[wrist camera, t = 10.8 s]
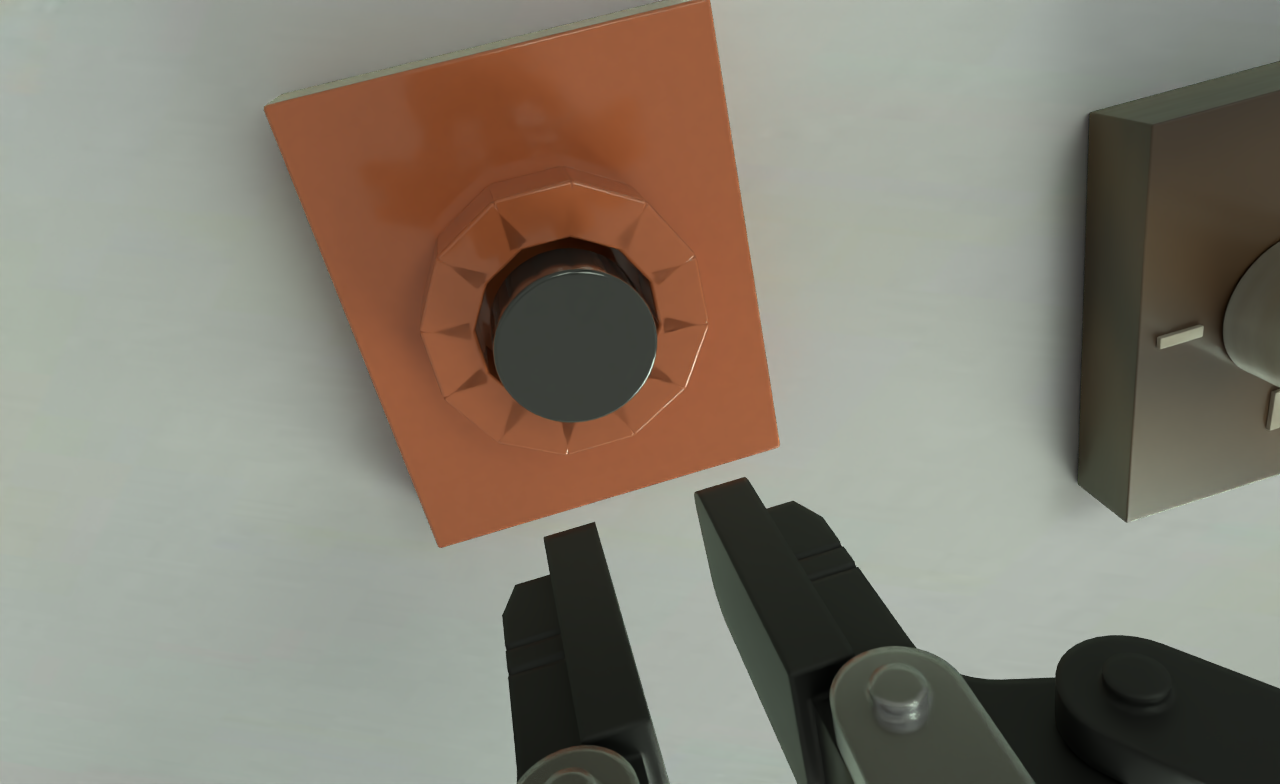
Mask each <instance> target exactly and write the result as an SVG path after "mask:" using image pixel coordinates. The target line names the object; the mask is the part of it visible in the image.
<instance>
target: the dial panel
mask: <svg viewBox="0 0 1280 784" xmlns="http://www.w3.org/2000/svg"><path fill="white" fill-rule="evenodd" d="M1279 241H1280V61H1279V62H1275V63H1271V64H1267V65H1264V66H1260V67H1256V68H1253V69H1249V70H1245V71H1241V72H1238V73H1234V74H1230V75H1227V76H1223V77H1219V78H1216V79H1212V80H1208V81H1204V82H1201V83H1197V84H1193V85H1190V86H1186V87H1182V88H1179V89H1175V90H1171V91H1167V92H1164V93H1160V94H1156V95H1153V96H1149V97H1145V98H1142V99H1138V100H1134V101H1130V102H1127V103H1123V104H1119V105H1116V106H1112V107H1108V108H1104V109H1101V110H1097V111H1093V112H1091V113H1090V115H1089V147H1088V178H1087V209H1086V241H1085V272H1084V303H1083V334H1082V366H1081V397H1080V428H1079V459H1078V485H1079V486H1081V487H1082V488H1083V489H1084V490H1086V491H1087V492H1088V493H1089V494H1091V495H1092V496H1093V497H1094V498H1096V499H1097V500H1098V501H1100V502H1101V503H1102V504H1103V505H1105V506H1106V507H1107V508H1108V509H1110V510H1111V511H1112V512H1114V513H1115V514H1116V515H1117V516H1119V517H1120V518H1121V519H1122V520H1124V521H1125V522H1131V521H1134V520H1137V519H1140V518H1143V517H1147V516H1150V515H1153V514H1156V513H1159V512H1162V511H1165V510H1169V509H1172V508H1175V507H1178V506H1181V505H1184V504H1187V503H1191V502H1194V501H1197V500H1200V499H1203V498H1206V497H1210V496H1213V495H1216V494H1219V493H1222V492H1225V491H1228V490H1232V489H1235V488H1238V487H1241V486H1244V485H1247V484H1250V483H1254V482H1257V481H1260V480H1263V479H1266V478H1269V477H1272V476H1276V475H1279V474H1280V388H1279V387H1277V386H1275V385H1273V384H1271V383H1269V382H1267V381H1265V380H1263V379H1261V378H1259V377H1257V376H1255V375H1253V374H1250V373H1248V372H1246V371H1244V370H1243V369H1241V368H1240V367H1238V366H1237V365H1236V364H1235V363H1234V362H1233V361H1232V359H1231V358H1230V356H1229V355H1228V353H1227V351H1226V348H1225V345H1224V340H1223V322H1224V317H1225V312H1226V309H1227V306H1228V303H1229V301H1230V298H1231V296H1232V294H1233V292H1234V290H1235V288H1236V286H1237V284H1238V283H1239V281H1240V280H1241V278H1242V277H1243V275H1244V274H1245V273H1246V271H1247V270H1248V269H1249V268H1250V266H1251V265H1252V264H1253V263H1254V262H1255V261H1256V260H1257V259H1258V258H1259V257H1260V256H1261V255H1262V254H1263V253H1264V252H1266V251H1267V250H1268V249H1269V248H1271V247H1272V246H1273V245H1275V244H1276V243H1278V242H1279Z"/></svg>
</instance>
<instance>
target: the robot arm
mask: <svg viewBox="0 0 1280 784" xmlns="http://www.w3.org/2000/svg"><path fill="white" fill-rule="evenodd" d="M694 497H695V504H696V509H697V513H698V518H699V522H700V527H701V532H702V536H703V541H704V545H705V550H706V554H707V559H708V563H709V568H710V573H711V577H712V581H713V585H714V589H715V592H716V596H717V599H718V602H719V605H720V608H721V611H722V614H723V616H724V619H725V621H726V624H727V626H728V628H729V631H730V633H731V635H732V637H733V640H734V642H735V644H736V646H737V649H738V651H739V653H740V655H741V658H742V660H743V662H744V664H745V667H746V669H747V671H748V673H749V676H750V678H751V680H752V682H753V685H754V687H755V689H756V691H757V694H758V696H759V698H760V700H761V703H762V705H763V707H764V709H765V712H766V714H767V716H768V718H769V721H770V723H771V725H772V727H773V730H774V732H775V734H776V736H777V739H778V741H779V743H780V745H781V748H782V750H783V752H784V754H785V757H786V759H787V761H788V763H789V766H790V768H791V770H792V772H793V775H794V777H795V779H796V781H797V784H1280V689H1279V688H1277V687H1274V686H1272V685H1269V684H1266V683H1264V682H1261V681H1258V680H1256V679H1253V678H1251V677H1248V676H1245V675H1243V674H1240V673H1237V672H1235V671H1232V670H1230V669H1227V668H1224V667H1222V666H1219V665H1217V664H1214V663H1211V662H1209V661H1206V660H1203V659H1201V658H1198V657H1196V656H1193V655H1190V654H1188V653H1185V652H1182V651H1180V650H1177V649H1175V648H1172V647H1169V646H1167V645H1164V644H1161V643H1158V642H1155V641H1152V640H1148V639H1144V638H1139V637H1133V636H1123V635H1110V636H1102V637H1096V638H1092V639H1088V640H1085V641H1083V642H1081V643H1079V644H1076V645H1075V646H1073V647H1072V648H1071V649H1069V650H1068V651H1067V652H1066V653H1065V654H1064V655H1063V656H1062V658H1061V660H1060V661H1059V663H1058V665H1057V670H1056V678H1031V679H1006V680H993V679H981V678H974V677H969V676H965V675H961V674H959V672H958V671H957V670H956V669H955V668H954V667H953V666H951V665H950V664H949V663H948V662H946V661H945V660H943V659H942V658H940V657H938V656H936V655H934V654H932V653H929V652H927V651H923V650H920V649H917V648H916V647H915V646H914V644H913V643H912V642H911V641H910V639H909V638H908V636H907V635H906V633H905V632H904V631H903V629H902V628H901V626H900V625H899V624H898V622H897V621H896V619H895V618H894V617H893V615H892V614H891V612H890V611H889V610H888V608H887V607H886V605H885V604H884V603H883V601H882V600H881V598H880V597H879V596H878V594H877V593H876V591H875V590H874V589H873V587H872V586H871V584H870V583H869V582H868V580H867V579H866V577H865V576H864V575H863V573H862V572H861V570H860V569H859V568H858V567H856V566H855V562H854V561H853V559H852V558H851V556H850V555H849V554H848V552H847V551H846V549H845V548H844V547H842V546H841V544H840V541H839V539H838V538H837V537H836V535H835V534H834V532H833V531H832V530H831V528H830V527H829V525H828V524H827V523H826V521H825V520H824V518H823V517H821V516H819V515H818V514H816V513H814V512H812V511H811V510H809V509H807V508H805V507H804V506H802V505H800V504H798V503H796V502H795V501H791V502H787V503H784V504H781V505H778V506H774V507H771V508H768V509H766V508H765V506H764V504H763V503H762V501H761V500H760V498H759V496H758V495H757V493H756V492H755V490H754V488H753V487H752V485H751V483H750V482H749V480H748V479H747V478H746V477H743V478H740V479H736V480H733V481H730V482H726V483H723V484H720V485H716V486H713V487H710V488H706V489H703V490H700V491H696V492H695V493H694ZM544 543H545V549H546V554H547V560H548V565H549V571H550V575H547V576H544V577H540V578H537V579H534V580H530V581H527V582H524V583H521V584H517V585H515V587H514V589H513V592H512V594H511V596H510V599H509V601H508V603H507V606H506V608H505V610H504V613H503V615H502V617H503V627H504V638H505V646H506V650H507V651H506V659H507V669H508V673H509V676H508V680H509V690H510V701H511V711H512V722H513V732H514V743H515V753H516V764H517V784H670V783H669V779H668V776H667V772H666V769H665V765H664V762H663V758H662V755H661V751H660V748H659V744H658V741H657V737H656V734H655V730H654V727H653V723H652V720H651V716H650V713H649V709H648V706H647V702H646V699H645V695H644V692H643V688H642V685H641V681H640V677H639V674H638V670H637V667H636V663H635V660H634V656H633V653H632V649H631V646H630V642H629V639H628V635H627V632H626V628H625V625H624V621H623V618H622V614H621V611H620V607H619V604H618V601H617V597H616V594H615V590H614V587H613V583H612V580H611V576H610V573H609V569H608V566H607V562H606V559H605V555H604V552H603V549H602V545H601V542H600V538H599V535H598V531H597V528H596V524H595V522H593V523H589V524H586V525H583V526H579V527H576V528H573V529H569V530H566V531H563V532H559V533H556V534H553V535H549V536H546V537H544Z"/></svg>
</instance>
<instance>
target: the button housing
mask: <svg viewBox="0 0 1280 784" xmlns="http://www.w3.org/2000/svg"><path fill="white" fill-rule="evenodd" d="M264 112H265V115H266V117H267V120H268V122H269V125H270V127H271V130H272V132H273V135H274V137H275V140H276V142H277V145H278V147H279V150H280V152H281V155H282V157H283V160H284V162H285V165H286V167H287V170H288V172H289V175H290V177H291V180H292V182H293V185H294V187H295V190H296V192H297V195H298V197H299V200H300V202H301V205H302V207H303V210H304V212H305V215H306V217H307V220H308V222H309V225H310V227H311V230H312V232H313V235H314V237H315V240H316V242H317V245H318V247H319V250H320V252H321V255H322V257H323V260H324V262H325V265H326V267H327V270H328V272H329V275H330V277H331V280H332V282H333V285H334V287H335V290H336V293H337V295H338V298H339V300H340V303H341V305H342V308H343V310H344V313H345V315H346V318H347V320H348V323H349V325H350V328H351V330H352V333H353V335H354V338H355V340H356V343H357V345H358V348H359V350H360V353H361V355H362V358H363V360H364V363H365V365H366V368H367V370H368V373H369V375H370V378H371V380H372V383H373V385H374V388H375V390H376V393H377V395H378V398H379V400H380V403H381V405H382V408H383V410H384V413H385V415H386V418H387V420H388V423H389V425H390V428H391V430H392V433H393V435H394V438H395V440H396V443H397V445H398V448H399V450H400V453H401V455H402V458H403V460H404V463H405V465H406V468H407V470H408V473H409V475H410V478H411V480H412V483H413V485H414V488H415V490H416V493H417V495H418V498H419V500H420V503H421V505H422V508H423V510H424V513H425V515H426V518H427V520H428V523H429V525H430V528H431V530H432V533H433V535H434V538H435V540H436V543H437V545H438V547H439V548H442V547H446V546H449V545H452V544H456V543H459V542H463V541H466V540H469V539H473V538H476V537H479V536H483V535H486V534H489V533H493V532H496V531H500V530H503V529H506V528H510V527H513V526H516V525H520V524H523V523H526V522H530V521H533V520H536V519H540V518H543V517H547V516H550V515H553V514H557V513H560V512H563V511H567V510H570V509H573V508H577V507H580V506H584V505H587V504H590V503H594V502H597V501H600V500H604V499H607V498H610V497H614V496H617V495H620V494H624V493H627V492H631V491H634V490H637V489H641V488H644V487H647V486H651V485H654V484H657V483H661V482H664V481H668V480H671V479H674V478H678V477H681V476H684V475H688V474H691V473H694V472H698V471H701V470H705V469H708V468H711V467H715V466H718V465H721V464H725V463H728V462H731V461H735V460H738V459H741V458H745V457H748V456H752V455H755V454H758V453H762V452H765V451H768V450H772V449H775V448H778V447H780V442H779V435H778V429H777V422H776V416H775V410H774V403H773V397H772V391H771V384H770V378H769V372H768V365H767V359H766V352H765V346H764V340H763V333H762V327H761V321H760V314H759V308H758V302H757V295H756V289H755V282H754V276H753V270H752V263H751V257H750V251H749V244H748V238H747V232H746V225H745V219H744V212H743V206H742V200H741V193H740V187H739V181H738V174H737V168H736V162H735V155H734V149H733V143H732V136H731V130H730V123H729V117H728V111H727V104H726V98H725V92H724V85H723V79H722V73H721V66H720V60H719V53H718V47H717V41H716V34H715V28H714V22H713V15H712V9H711V3H710V0H663V1H659V2H655V3H651V4H647V5H643V6H639V7H635V8H630V9H626V10H622V11H618V12H614V13H610V14H606V15H602V16H598V17H594V18H590V19H586V20H582V21H578V22H573V23H569V24H565V25H561V26H557V27H553V28H549V29H545V30H541V31H537V32H533V33H529V34H525V35H520V36H516V37H512V38H508V39H504V40H500V41H496V42H492V43H488V44H484V45H480V46H476V47H472V48H467V49H463V50H459V51H455V52H451V53H447V54H443V55H439V56H435V57H431V58H427V59H423V60H419V61H415V62H410V63H406V64H402V65H398V66H394V67H390V68H386V69H382V70H378V71H374V72H370V73H366V74H362V75H357V76H353V77H349V78H345V79H341V80H337V81H333V82H329V83H325V84H321V85H317V86H313V87H309V88H304V89H300V90H296V91H292V92H288V93H284V94H281V95H280V96H278V97H277V98H275V99H274V100H273V101H271V102H270V103H268V104H267V105H265V106H264ZM562 248H577V249H584V250H589V251H592V252H595V253H598V254H601V255H603V256H605V257H607V258H609V259H610V260H612V261H613V262H615V263H616V264H617V265H618V266H620V267H621V268H622V269H623V270H624V271H625V272H626V274H627V275H628V276H629V277H630V278H631V280H632V282H633V283H634V285H635V286H636V288H637V289H638V291H639V293H640V294H641V296H642V297H643V299H644V300H645V302H646V303H647V305H648V307H649V308H650V311H651V313H652V315H653V318H654V321H655V324H656V329H657V340H658V346H657V354H656V358H655V362H654V366H653V368H652V370H651V373H650V375H649V377H648V379H647V380H646V382H645V384H644V385H643V387H642V388H641V389H640V391H639V392H638V393H637V394H636V395H635V396H634V397H633V398H632V399H631V400H630V401H629V402H627V403H626V404H625V405H624V406H622V407H621V408H619V409H618V410H616V411H614V412H612V413H610V414H608V415H606V416H604V417H601V418H598V419H594V420H590V421H585V422H576V423H575V422H559V421H553V420H549V419H546V418H543V417H540V416H538V415H535V414H534V413H532V412H530V411H528V410H526V409H525V408H524V407H522V406H521V405H520V404H518V403H517V402H516V401H515V400H514V399H513V398H512V397H511V396H510V395H509V393H508V392H507V391H506V389H505V388H504V386H503V384H502V383H501V381H500V379H499V376H498V374H497V371H496V368H495V363H494V358H493V351H492V343H491V336H490V326H489V324H490V312H491V307H492V304H493V301H494V298H495V295H496V293H497V291H498V289H499V287H500V286H501V284H502V283H503V281H504V280H505V279H506V278H507V276H508V275H509V274H510V273H511V272H512V271H513V270H514V269H515V268H516V267H518V266H519V265H520V264H522V263H523V262H525V261H526V260H528V259H529V258H531V257H533V256H535V255H538V254H540V253H543V252H546V251H550V250H555V249H562Z"/></svg>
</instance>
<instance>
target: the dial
mask: <svg viewBox="0 0 1280 784" xmlns="http://www.w3.org/2000/svg"><path fill="white" fill-rule="evenodd" d="M1223 340H1224V345H1225V348H1226V351H1227V353H1228V355H1229V356H1230V358H1231V359H1232V361H1233V362H1234V363H1235V364H1236V365H1237V366H1238V367H1240V368H1241V369H1243V370H1244V371H1246V372H1248V373H1250V374H1253V375H1255V376H1257V377H1259V378H1261V379H1263V380H1265V381H1267V382H1269V383H1271V384H1273V385H1275V386H1277V387H1279V388H1280V241H1279V242H1278V243H1276V244H1275V245H1273V246H1272V247H1271V248H1269V249H1268V250H1267V251H1266V252H1264V253H1263V254H1262V255H1261V256H1260V257H1259V258H1258V259H1257V260H1256V261H1255V262H1254V263H1253V264H1252V265H1251V266H1250V268H1249V269H1248V270H1247V271H1246V273H1245V274H1244V275H1243V277H1242V278H1241V280H1240V281H1239V283H1238V284H1237V286H1236V288H1235V290H1234V292H1233V294H1232V296H1231V298H1230V301H1229V303H1228V306H1227V309H1226V312H1225V317H1224V322H1223Z"/></svg>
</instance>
